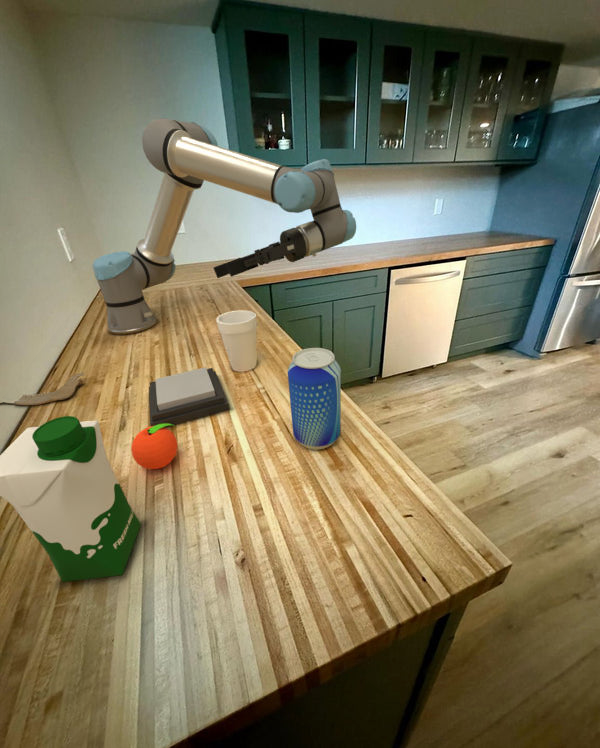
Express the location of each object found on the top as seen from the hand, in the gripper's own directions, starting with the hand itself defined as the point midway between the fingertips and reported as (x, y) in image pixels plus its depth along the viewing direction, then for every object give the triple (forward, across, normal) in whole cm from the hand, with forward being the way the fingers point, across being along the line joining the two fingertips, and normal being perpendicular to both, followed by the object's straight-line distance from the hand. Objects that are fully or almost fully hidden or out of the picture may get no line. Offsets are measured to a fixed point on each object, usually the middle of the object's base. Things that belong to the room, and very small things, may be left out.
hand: (221, 271), depth 77 cm
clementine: (+27, -24, -24) cm, 44 cm away
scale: (+19, -8, -22) cm, 30 cm away
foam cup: (+4, +1, -23) cm, 23 cm away
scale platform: (+19, -9, -20) cm, 29 cm away
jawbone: (+48, +14, -12) cm, 52 cm away
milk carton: (+36, -37, -26) cm, 58 cm away
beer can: (+2, -32, -31) cm, 44 cm away
